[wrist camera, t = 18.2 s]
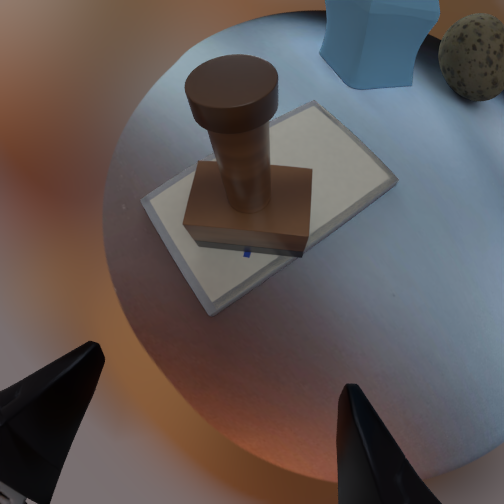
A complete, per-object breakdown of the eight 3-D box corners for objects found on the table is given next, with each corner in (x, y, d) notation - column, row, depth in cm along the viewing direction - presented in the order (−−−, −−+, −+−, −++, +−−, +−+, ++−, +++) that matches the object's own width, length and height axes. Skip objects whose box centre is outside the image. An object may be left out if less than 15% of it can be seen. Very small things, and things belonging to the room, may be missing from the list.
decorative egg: (496, 126, 26) (543, 58, 12) (440, 105, 28) (483, 19, 13) (472, 79, 30) (504, 16, 15) (419, 60, 31) (445, -15, 16)
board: (211, 317, 22) (209, 316, 21) (143, 204, 25) (139, 199, 24) (395, 185, 24) (399, 179, 23) (313, 106, 28) (314, 99, 27)
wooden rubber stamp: (301, 258, 22) (340, 131, 8) (198, 246, 22) (115, 126, 9) (306, 199, 23) (333, 52, 10) (210, 190, 24) (157, 52, 11)
